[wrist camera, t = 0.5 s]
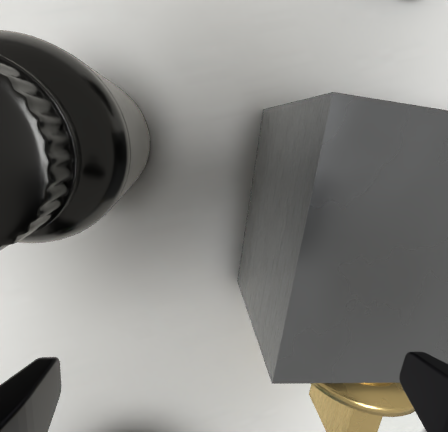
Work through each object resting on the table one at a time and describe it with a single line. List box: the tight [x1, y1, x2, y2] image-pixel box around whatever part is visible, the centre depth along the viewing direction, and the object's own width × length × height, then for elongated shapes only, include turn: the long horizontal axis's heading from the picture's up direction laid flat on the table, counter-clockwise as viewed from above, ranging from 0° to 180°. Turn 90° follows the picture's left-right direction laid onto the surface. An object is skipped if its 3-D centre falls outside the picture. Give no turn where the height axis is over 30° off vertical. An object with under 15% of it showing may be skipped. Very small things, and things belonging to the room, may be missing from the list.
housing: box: [238, 92, 448, 383], centre depth 17 cm, size 12×14×9 cm
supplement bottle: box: [0, 30, 150, 250], centre depth 12 cm, size 7×7×12 cm
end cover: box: [309, 383, 415, 432], centre depth 19 cm, size 11×8×8 cm
